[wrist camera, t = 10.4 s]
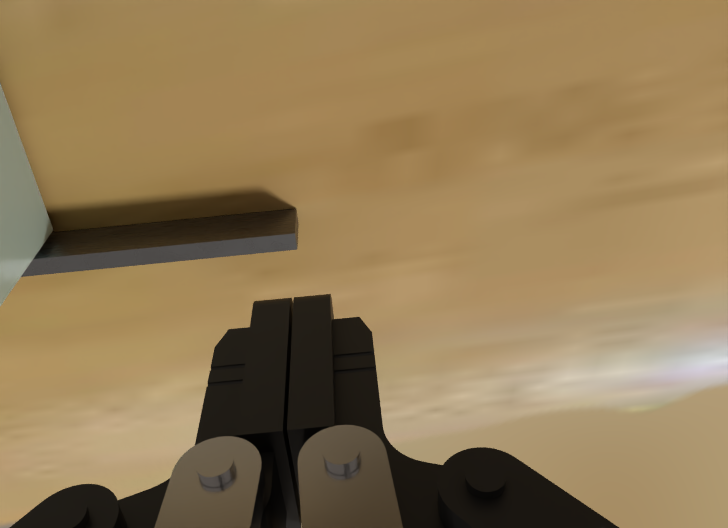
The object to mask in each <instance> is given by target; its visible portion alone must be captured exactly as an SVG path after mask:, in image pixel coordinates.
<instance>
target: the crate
mask: <svg viewBox="0 0 728 528" xmlns="http://www.w3.org/2000/svg"><path fill="white" fill-rule="evenodd" d="M52 231H53V228H52V225H51V222H50V219H49V216H48V214H47V211H46V208H45V205H44V203H43V200H42V197H41V194H40V192H39V189H38V186H37V183H36V181H35V178H34V175H33V172H32V169H31V167H30V164H29V161H28V158H27V156H26V153H25V150H24V147H23V145H22V142H21V139H20V136H19V134H18V131H17V128H16V125H15V122H14V120H13V117H12V114H11V111H10V109H9V106H8V103H7V100H6V98H5V95H4V92H3V89H2V87H1V84H0V306H1V305H2V303H3V302H4V300H5V299H6V297H7V296H8V294H9V293H10V292H11V290H12V289H13V287H14V286H15V284H16V283H17V282H18V280H19V279H20V277H21V276H22V274H23V273H24V271H25V270H26V269H27V267H28V266H29V264H30V263H31V261H32V260H33V259H34V257H35V256H36V254H37V253H38V251H39V250H40V248H41V247H42V246H43V244H44V243H45V241H46V240H47V238H48V237H49V236H50V234H51V233H52Z"/></svg>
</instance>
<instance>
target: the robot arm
mask: <svg viewBox="0 0 728 528" xmlns="http://www.w3.org/2000/svg"><path fill="white" fill-rule="evenodd" d="M301 523H302V528H619V527H617V526H616V525H614V524H613V523H611V522H610V521H608V520H607V519H606V518H604V517H603V516H601V515H600V514H598V513H597V512H595V511H594V510H592V509H591V508H589V507H588V506H586V505H585V504H583V503H582V502H580V501H579V500H577V499H576V498H574V497H573V496H571V495H570V494H568V493H567V492H565V491H564V490H563V489H561V488H560V487H558V486H557V485H555V484H554V483H552V482H551V481H549V480H548V479H546V478H545V477H543V476H542V475H540V474H539V473H537V472H536V471H534V470H533V469H531V468H530V467H528V466H527V465H525V464H524V463H523V462H521V461H519V460H518V459H516V458H515V457H513V456H512V455H510V454H508V453H506V452H503V451H500V450H497V449H492V448H471V449H466V450H463V451H461V452H458V453H456V454H455V455H453V456H452V457H450V458H449V459H448V460H447V461H446V462H445V463H444V465H438V464H432V463H427V462H422V461H418V460H414V459H412V458H409V457H407V456H405V455H403V454H402V453H400V452H399V451H397V450H396V449H395V448H394V447H393V446H392V445H391V444H390V443H389V441H388V440H387V438H386V436H385V434H384V430H383V425H382V416H381V407H380V399H379V390H378V381H377V373H376V364H375V355H374V347H373V338H372V332H371V331H370V329H369V328H368V327H367V326H366V325H365V323H364V322H363V321H362V320H361V318H360V317H353V318H342V319H334V315H333V307H332V299H331V294H326V295H315V296H304V297H294V300H293V301H292V298H285V299H274V300H263V301H254V303H253V310H252V317H251V324H250V327H248V328H238V329H229V330H228V331H227V333H226V334H225V335H224V336H223V338H222V339H221V340H220V341H219V343H218V344H217V345H216V346H215V349H214V354H213V359H212V364H211V371H210V374H209V379H208V387H207V388H206V393H205V398H204V403H203V408H202V413H201V418H200V423H199V428H198V433H197V438H196V443H195V446H194V447H192V448H190V449H189V450H188V451H187V452H186V453H184V454H183V456H182V457H181V458H180V459H179V460H178V462H177V463H176V465H175V467H174V469H173V472H172V475H171V478H170V479H168V480H167V481H165V482H163V483H161V484H160V485H158V486H155V487H153V488H151V489H148V490H145V491H143V492H140V493H137V494H134V495H132V496H129V497H126V498H123V499H121V500H117V498H116V496H115V495H114V493H113V492H111V491H110V490H109V489H107V488H105V487H103V486H100V485H96V484H81V485H76V486H72V487H69V488H66V489H63V490H61V491H59V492H57V493H55V494H53V495H51V496H50V497H48V498H47V499H45V500H44V501H43V502H41V503H40V504H39V505H37V506H36V507H35V508H34V509H32V510H31V511H30V512H29V513H27V514H26V515H25V516H24V517H22V518H21V519H20V520H19V521H17V522H16V523H15V524H14V525H12V526H11V527H10V528H301Z"/></svg>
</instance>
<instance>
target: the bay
mask: <svg viewBox="0 0 728 528" xmlns="http://www.w3.org/2000/svg"><path fill="white" fill-rule="evenodd" d="M297 246H298V218H297V211H296V209H287V210H277V211H267V212H257V213H246V214H236V215H226V216H216V217H206V218H195V219H185V220H175V221H165V222H155V223H144V224H134V225H124V226H114V227H104V228H93V229H83V230H73V231H63V232H53V233H51V234H50V236H49V237H48V238H47V240H46V241H45V243H44V244H43V246H42V247H41V248H40V250H39V251H38V253H37V254H36V256H35V257H34V259H33V260H32V261H31V263H30V264H29V266H28V267H27V269H26V270H25V271H24V273H23V274H22V276H21V277H23V276H34V275H44V274H54V273H64V272H74V271H84V270H94V269H104V268H114V267H124V266H135V265H145V264H155V263H165V262H175V261H185V260H195V259H205V258H215V257H226V256H236V255H246V254H256V253H266V252H276V251H286V250H296V249H297Z"/></svg>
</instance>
